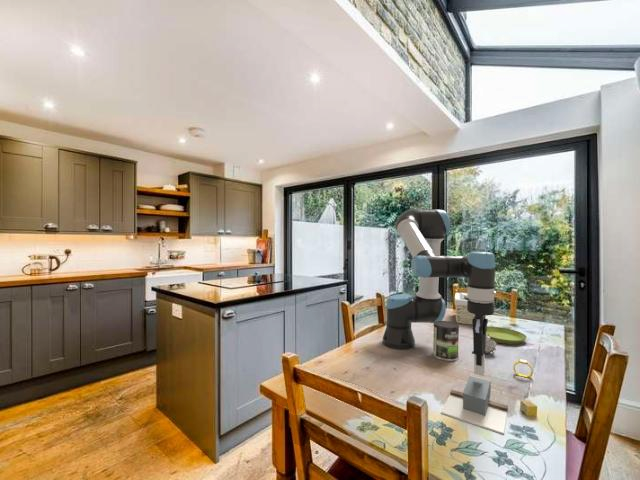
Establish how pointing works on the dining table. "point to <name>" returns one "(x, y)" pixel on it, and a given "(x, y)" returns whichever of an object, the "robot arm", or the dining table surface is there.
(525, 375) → the watch
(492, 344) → the game die
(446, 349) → the coffee can
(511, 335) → the saucer
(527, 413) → the alphabet block
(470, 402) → the tall block
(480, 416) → the mat
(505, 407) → the bar
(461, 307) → the storage basket
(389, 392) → the dining table surface
